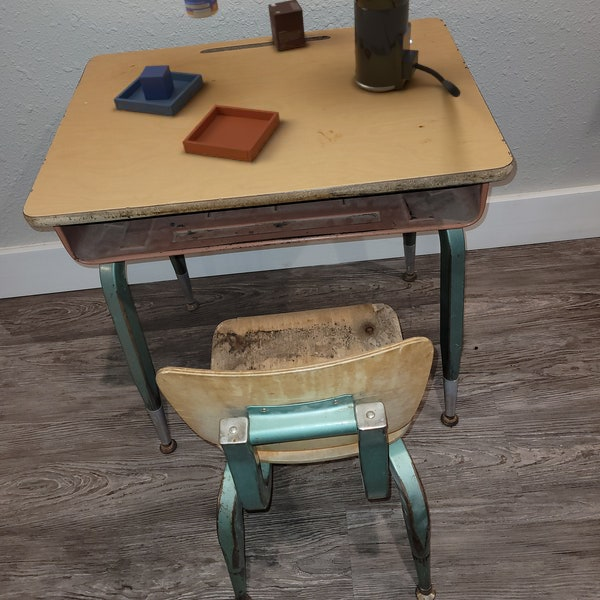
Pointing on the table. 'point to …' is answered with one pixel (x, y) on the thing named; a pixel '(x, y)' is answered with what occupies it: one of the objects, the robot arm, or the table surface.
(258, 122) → the warm tray
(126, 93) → the blue tray
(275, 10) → the box
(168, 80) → the blue block
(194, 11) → the pill bottle
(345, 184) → the table surface
